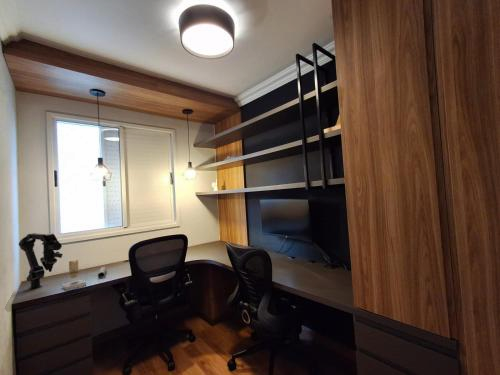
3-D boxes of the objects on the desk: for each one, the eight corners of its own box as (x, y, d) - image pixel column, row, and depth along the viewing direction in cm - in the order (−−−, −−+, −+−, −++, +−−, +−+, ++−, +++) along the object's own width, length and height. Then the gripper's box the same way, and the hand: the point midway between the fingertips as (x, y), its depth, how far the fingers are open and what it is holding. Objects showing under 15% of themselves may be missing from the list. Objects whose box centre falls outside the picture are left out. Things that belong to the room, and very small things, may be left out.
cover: (67, 277, 181) (66, 261, 182) (77, 275, 186) (77, 259, 187) (70, 278, 177) (69, 262, 178) (80, 276, 182) (80, 260, 183)
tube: (99, 267, 220) (96, 274, 198) (105, 264, 223) (103, 270, 201) (101, 272, 221) (98, 279, 199) (107, 270, 223) (105, 276, 201)
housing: (61, 287, 180) (61, 284, 180) (80, 282, 190) (80, 279, 190) (67, 290, 173) (67, 287, 173) (86, 285, 182) (86, 282, 183)
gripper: (65, 249, 183) (65, 269, 182) (57, 247, 194) (58, 266, 193) (46, 252, 174) (46, 273, 173) (39, 250, 185) (40, 270, 184)
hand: (48, 271), depth 181 cm, fingers open, 9 cm apart
